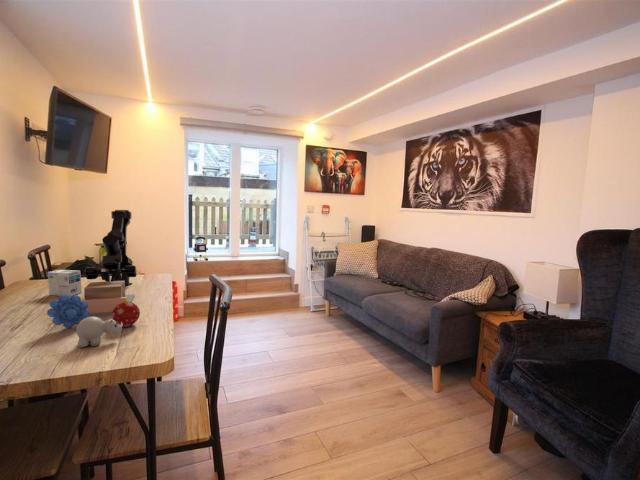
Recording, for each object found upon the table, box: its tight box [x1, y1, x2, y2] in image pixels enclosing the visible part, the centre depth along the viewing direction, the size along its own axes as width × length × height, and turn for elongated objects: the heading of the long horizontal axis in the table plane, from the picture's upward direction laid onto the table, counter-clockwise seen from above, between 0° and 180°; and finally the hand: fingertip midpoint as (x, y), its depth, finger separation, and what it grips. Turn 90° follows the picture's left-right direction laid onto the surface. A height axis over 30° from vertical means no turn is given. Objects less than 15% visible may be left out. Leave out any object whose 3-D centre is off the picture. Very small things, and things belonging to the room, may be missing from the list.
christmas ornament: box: [111, 298, 141, 328], centre depth 116 cm, size 9×9×10 cm
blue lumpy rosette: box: [46, 294, 90, 329], centre depth 112 cm, size 12×7×12 cm, turn 137°
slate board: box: [89, 294, 135, 317], centre depth 138 cm, size 25×16×1 cm, turn 23°
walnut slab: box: [83, 280, 126, 300], centre depth 132 cm, size 10×12×7 cm
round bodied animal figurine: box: [75, 316, 123, 348], centre depth 102 cm, size 7×12×8 cm, turn 120°
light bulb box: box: [47, 269, 83, 297], centre depth 152 cm, size 11×7×11 cm, turn 84°
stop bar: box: [80, 297, 127, 313], centre depth 127 cm, size 2×16×5 cm, turn 113°
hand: (109, 289), depth 139 cm, fingers closed
